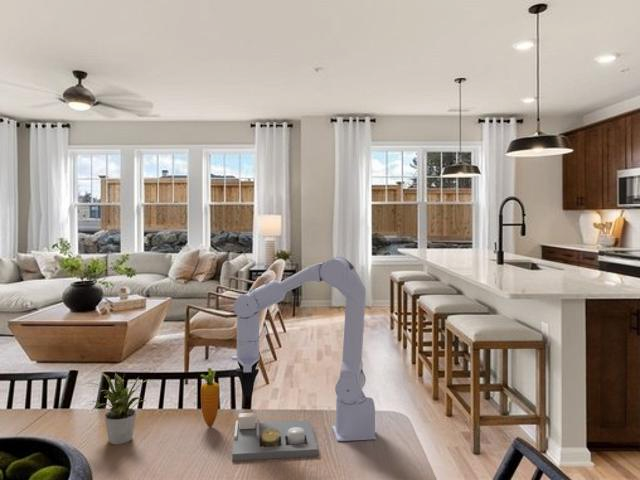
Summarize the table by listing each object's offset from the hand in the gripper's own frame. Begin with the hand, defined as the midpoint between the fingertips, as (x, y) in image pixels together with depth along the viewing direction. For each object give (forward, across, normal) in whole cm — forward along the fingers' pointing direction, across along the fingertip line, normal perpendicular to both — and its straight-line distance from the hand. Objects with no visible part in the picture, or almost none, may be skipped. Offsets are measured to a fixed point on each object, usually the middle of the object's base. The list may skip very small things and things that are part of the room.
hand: (247, 391), depth 122 cm
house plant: (+9, +6, -32) cm, 33 cm away
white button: (+7, +15, +12) cm, 20 cm away
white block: (+7, +7, 0) cm, 9 cm away
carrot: (+9, +2, -10) cm, 13 cm away
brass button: (+7, +14, +5) cm, 17 cm away
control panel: (+8, +12, +6) cm, 16 cm away
